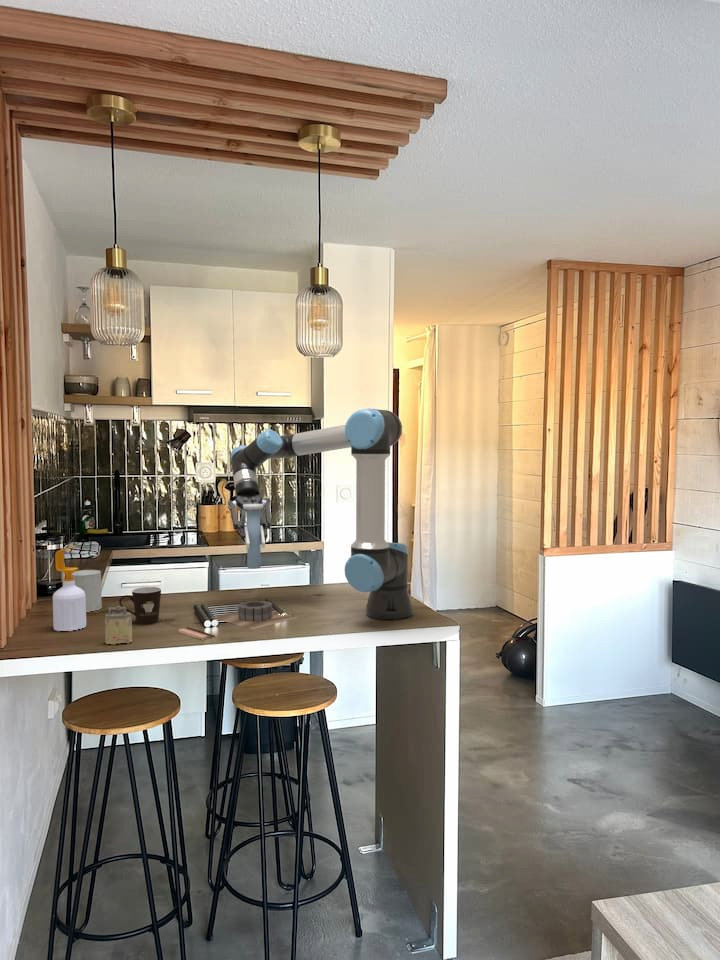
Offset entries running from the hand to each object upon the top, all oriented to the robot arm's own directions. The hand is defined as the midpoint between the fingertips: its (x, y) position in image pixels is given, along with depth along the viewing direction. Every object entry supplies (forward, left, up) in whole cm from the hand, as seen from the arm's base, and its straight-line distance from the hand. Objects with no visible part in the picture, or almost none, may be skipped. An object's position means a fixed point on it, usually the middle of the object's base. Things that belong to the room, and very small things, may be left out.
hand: (255, 545), depth 210 cm
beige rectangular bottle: (+14, +37, -24) cm, 46 cm away
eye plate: (+3, -2, -24) cm, 24 cm away
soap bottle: (+39, +39, -24) cm, 60 cm away
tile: (+5, +14, -24) cm, 28 cm away
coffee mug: (+29, +21, -24) cm, 43 cm away
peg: (+3, -2, -7) cm, 8 cm away
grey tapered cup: (+57, +25, -24) cm, 67 cm away
